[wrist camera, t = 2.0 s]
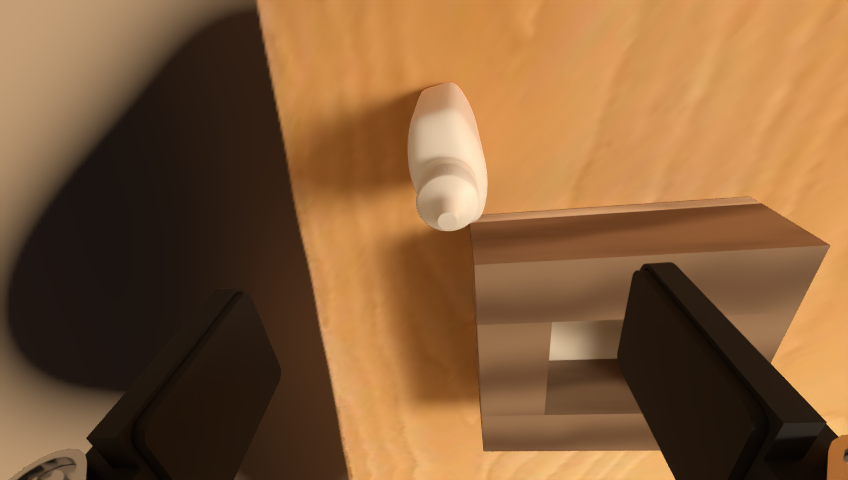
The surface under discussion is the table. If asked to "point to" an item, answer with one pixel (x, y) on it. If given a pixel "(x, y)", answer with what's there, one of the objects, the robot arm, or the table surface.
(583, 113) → the table surface
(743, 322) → the socket stand
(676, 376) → the robot arm
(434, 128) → the eye dropper bottle
